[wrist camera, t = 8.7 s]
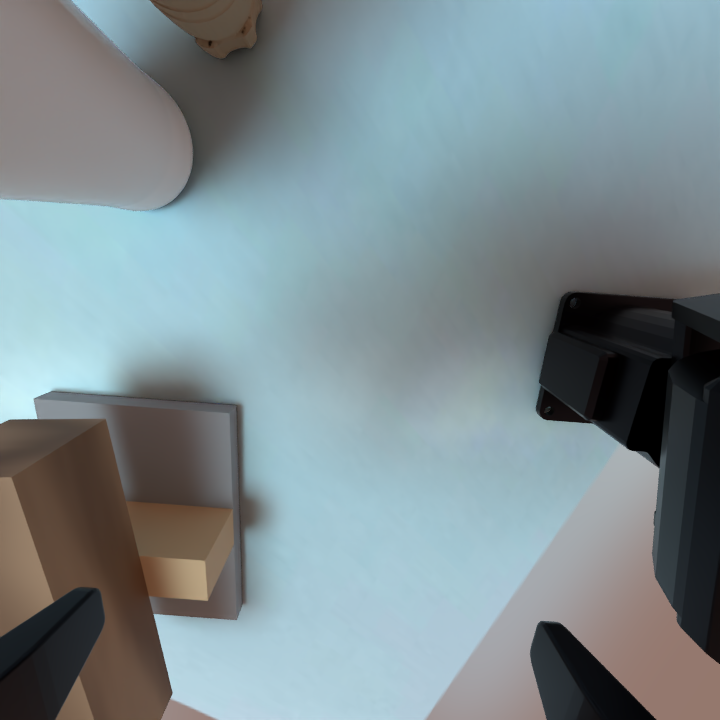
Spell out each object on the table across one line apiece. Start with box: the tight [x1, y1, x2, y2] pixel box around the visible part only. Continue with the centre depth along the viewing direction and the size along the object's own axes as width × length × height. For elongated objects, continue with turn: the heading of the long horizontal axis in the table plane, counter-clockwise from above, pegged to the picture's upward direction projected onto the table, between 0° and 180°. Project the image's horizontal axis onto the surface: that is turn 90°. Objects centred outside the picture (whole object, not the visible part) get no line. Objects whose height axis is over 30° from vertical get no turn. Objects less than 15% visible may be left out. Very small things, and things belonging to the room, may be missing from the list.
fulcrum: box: [34, 392, 242, 620], centre depth 19 cm, size 10×14×4 cm
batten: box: [0, 419, 172, 720], centre depth 15 cm, size 4×16×4 cm, turn 1°
